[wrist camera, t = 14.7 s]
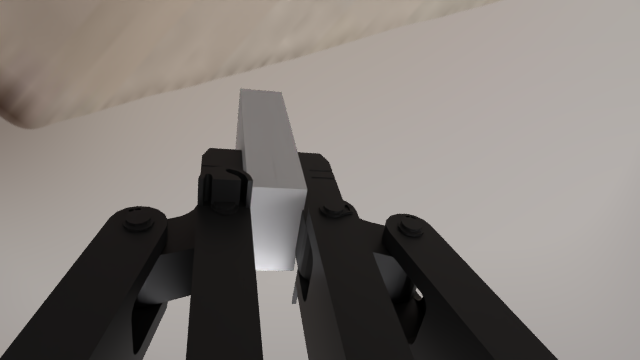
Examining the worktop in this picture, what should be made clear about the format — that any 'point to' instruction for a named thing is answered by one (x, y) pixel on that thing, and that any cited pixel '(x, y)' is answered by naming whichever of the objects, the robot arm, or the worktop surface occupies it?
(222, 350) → the robot arm
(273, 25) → the worktop surface
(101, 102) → the worktop surface
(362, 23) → the worktop surface
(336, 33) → the worktop surface
